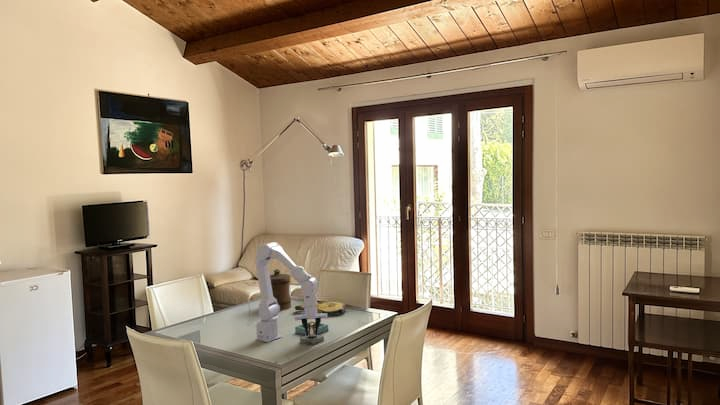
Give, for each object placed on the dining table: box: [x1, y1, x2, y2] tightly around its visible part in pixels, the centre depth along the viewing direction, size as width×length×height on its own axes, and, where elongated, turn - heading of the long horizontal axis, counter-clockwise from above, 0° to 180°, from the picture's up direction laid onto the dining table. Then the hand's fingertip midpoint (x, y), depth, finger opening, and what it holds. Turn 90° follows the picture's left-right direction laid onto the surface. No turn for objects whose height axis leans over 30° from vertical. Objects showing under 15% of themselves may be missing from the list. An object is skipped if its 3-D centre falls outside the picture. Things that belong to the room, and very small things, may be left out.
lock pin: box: [308, 323, 315, 339], centre depth 219 cm, size 3×3×8 cm
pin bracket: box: [299, 334, 325, 346], centre depth 219 cm, size 8×8×2 cm
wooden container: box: [270, 268, 292, 311], centre depth 280 cm, size 15×15×22 cm
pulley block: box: [294, 301, 351, 317], centre depth 267 cm, size 14×6×30 cm
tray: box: [294, 320, 329, 336], centre depth 233 cm, size 11×11×3 cm
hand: (311, 335), depth 219 cm, fingers open, 3 cm apart
